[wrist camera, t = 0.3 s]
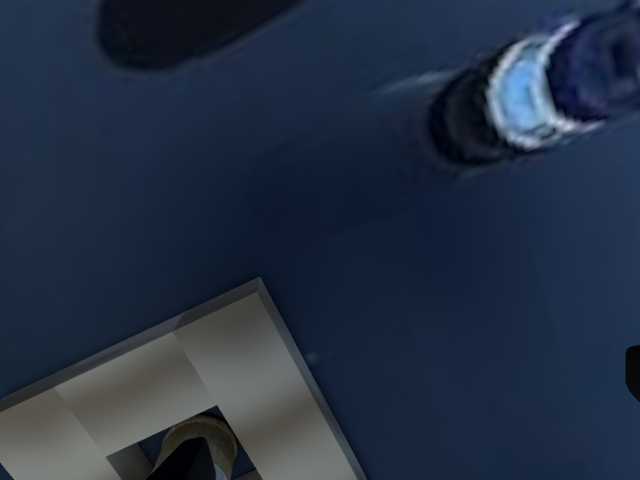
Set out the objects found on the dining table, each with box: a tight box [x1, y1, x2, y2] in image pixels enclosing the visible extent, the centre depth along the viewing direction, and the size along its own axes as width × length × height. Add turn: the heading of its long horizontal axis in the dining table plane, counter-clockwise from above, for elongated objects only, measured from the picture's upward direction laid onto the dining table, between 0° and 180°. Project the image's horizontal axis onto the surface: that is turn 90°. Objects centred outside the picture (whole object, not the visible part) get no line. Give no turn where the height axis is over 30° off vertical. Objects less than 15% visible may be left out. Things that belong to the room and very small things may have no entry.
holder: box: [0, 277, 367, 480], centre depth 22 cm, size 16×16×2 cm
